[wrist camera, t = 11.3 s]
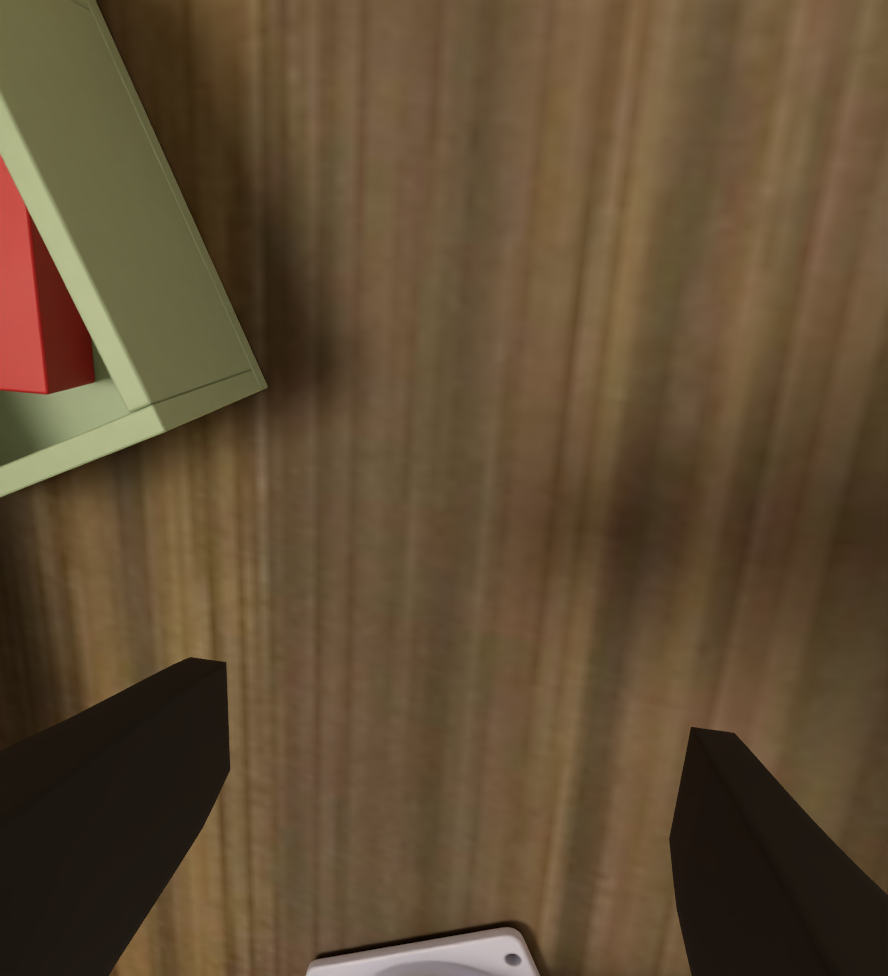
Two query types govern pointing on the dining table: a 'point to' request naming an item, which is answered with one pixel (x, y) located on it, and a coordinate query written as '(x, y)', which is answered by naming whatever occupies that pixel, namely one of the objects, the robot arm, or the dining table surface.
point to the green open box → (107, 250)
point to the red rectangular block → (36, 308)
